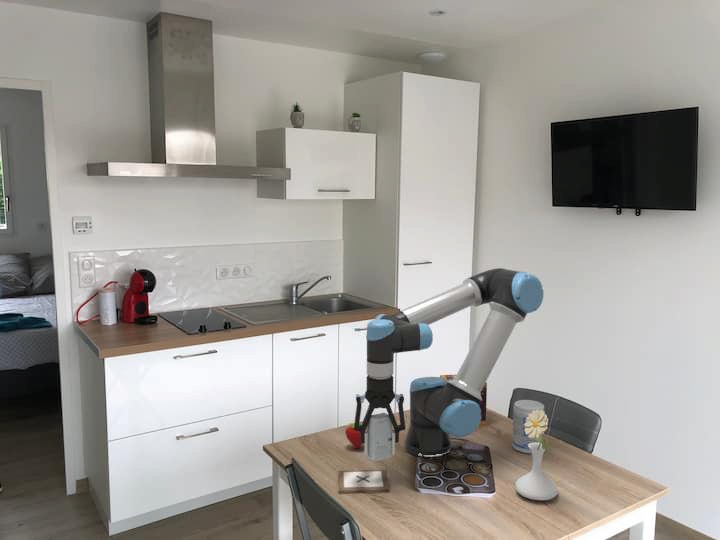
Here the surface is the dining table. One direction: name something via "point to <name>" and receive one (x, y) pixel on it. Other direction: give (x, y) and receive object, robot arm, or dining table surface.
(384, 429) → the skincare box
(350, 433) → the strawberry
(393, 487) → the dining table surface
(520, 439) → the supplement tub
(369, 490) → the tray with cross mark
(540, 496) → the flower in vase
